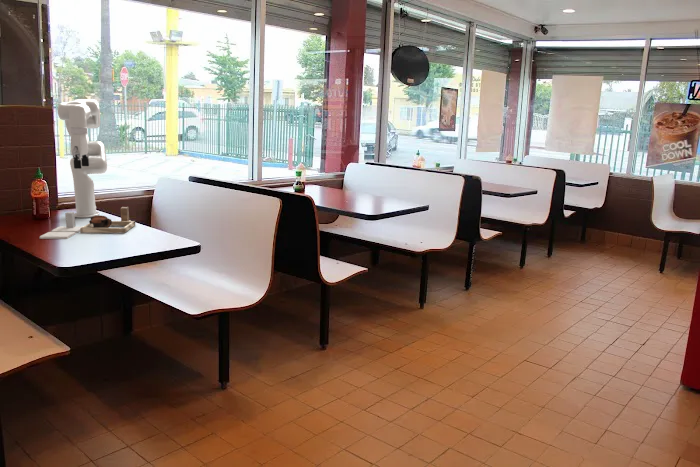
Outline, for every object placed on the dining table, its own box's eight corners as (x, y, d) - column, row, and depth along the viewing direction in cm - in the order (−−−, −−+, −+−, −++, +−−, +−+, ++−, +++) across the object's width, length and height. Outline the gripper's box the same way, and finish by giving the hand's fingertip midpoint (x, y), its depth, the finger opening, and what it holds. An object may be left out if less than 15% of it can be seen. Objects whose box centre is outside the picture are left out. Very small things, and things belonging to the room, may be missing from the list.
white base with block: (59, 228, 284) (58, 212, 282) (85, 228, 285) (83, 212, 283) (39, 238, 263) (37, 221, 262) (67, 238, 264) (65, 221, 262)
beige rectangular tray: (98, 222, 298) (97, 206, 296) (139, 222, 299) (138, 206, 297) (80, 232, 275) (79, 215, 273) (124, 232, 276) (123, 215, 274)
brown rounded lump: (84, 233, 277) (84, 216, 280) (98, 238, 286) (98, 222, 288) (106, 228, 274) (106, 211, 277) (119, 233, 283) (119, 217, 285)
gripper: (77, 130, 292) (80, 165, 296) (63, 132, 275) (66, 169, 279) (93, 130, 292) (96, 165, 296) (79, 132, 275) (83, 169, 279)
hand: (81, 167), depth 287 cm, fingers open, 9 cm apart
